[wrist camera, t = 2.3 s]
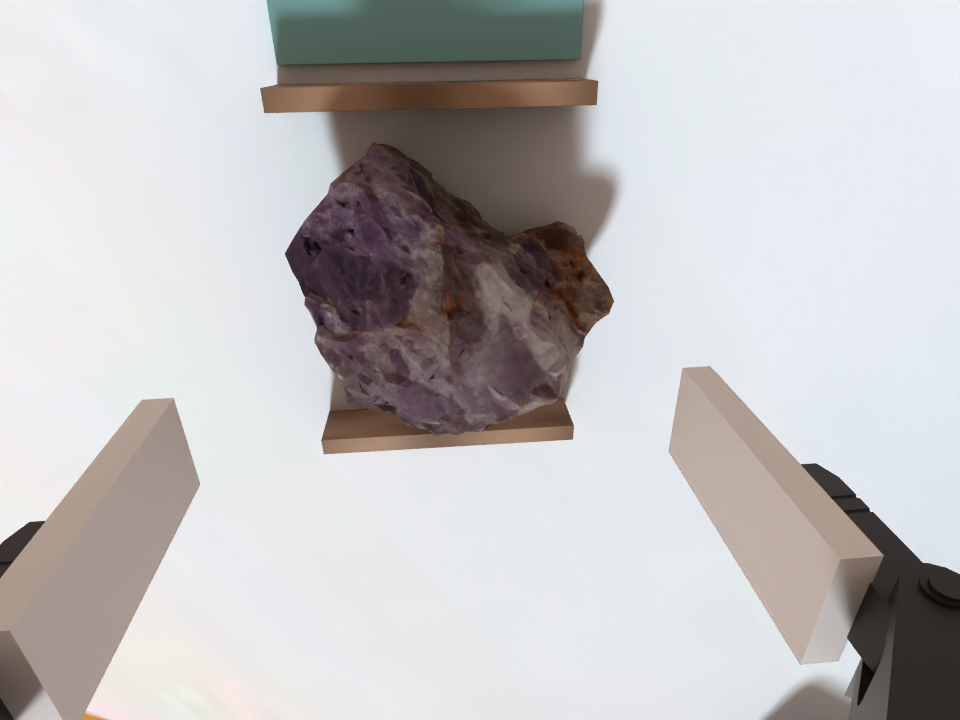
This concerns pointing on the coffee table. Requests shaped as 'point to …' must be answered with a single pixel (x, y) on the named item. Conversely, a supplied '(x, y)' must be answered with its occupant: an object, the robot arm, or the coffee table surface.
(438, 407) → the rock
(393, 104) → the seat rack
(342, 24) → the marked pad
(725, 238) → the coffee table surface
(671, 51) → the coffee table surface
